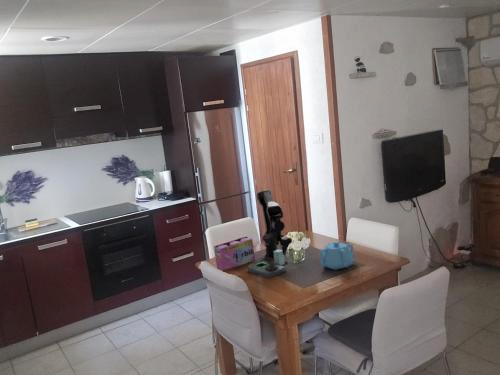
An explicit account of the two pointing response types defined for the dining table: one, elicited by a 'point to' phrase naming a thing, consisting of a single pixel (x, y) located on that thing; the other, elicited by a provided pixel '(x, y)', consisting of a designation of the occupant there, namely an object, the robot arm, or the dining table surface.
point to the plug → (279, 257)
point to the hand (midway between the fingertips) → (278, 253)
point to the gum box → (234, 253)
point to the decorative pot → (337, 255)
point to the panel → (266, 269)
